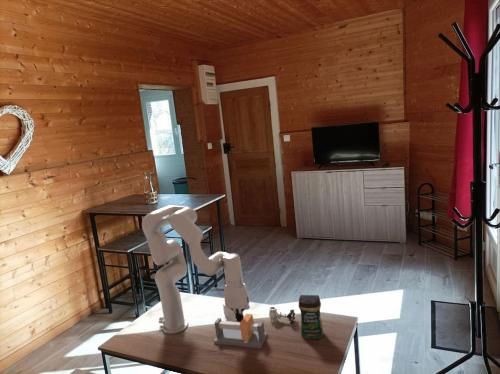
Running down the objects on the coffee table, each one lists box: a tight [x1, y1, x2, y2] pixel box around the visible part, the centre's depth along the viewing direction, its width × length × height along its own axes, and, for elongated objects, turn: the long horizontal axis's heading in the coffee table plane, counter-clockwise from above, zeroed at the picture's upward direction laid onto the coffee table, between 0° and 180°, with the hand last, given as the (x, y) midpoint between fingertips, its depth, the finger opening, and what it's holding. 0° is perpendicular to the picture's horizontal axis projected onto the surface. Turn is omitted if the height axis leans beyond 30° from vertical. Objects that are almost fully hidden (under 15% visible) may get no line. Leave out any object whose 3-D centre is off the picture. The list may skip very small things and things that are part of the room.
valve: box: [268, 306, 296, 325], centre depth 180 cm, size 7×7×12 cm
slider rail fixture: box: [213, 317, 268, 349], centre depth 169 cm, size 22×10×8 cm, turn 70°
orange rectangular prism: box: [240, 313, 254, 341], centre depth 167 cm, size 3×8×8 cm, turn 160°
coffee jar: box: [298, 294, 324, 340], centre depth 165 cm, size 10×8×19 cm
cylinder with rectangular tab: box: [222, 300, 236, 318], centre depth 194 cm, size 9×9×12 cm
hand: (240, 320), depth 168 cm, fingers closed
